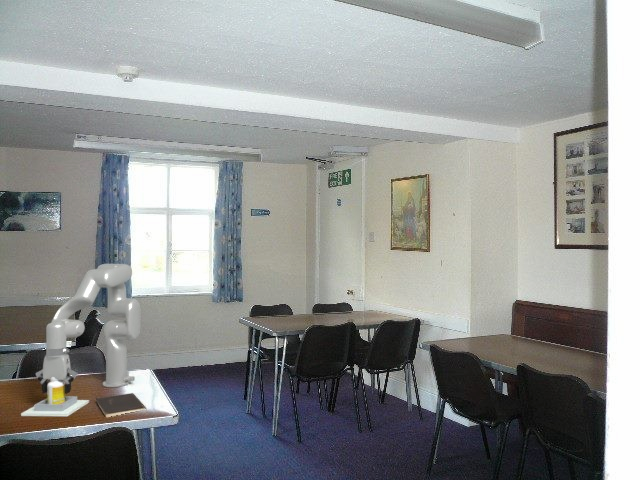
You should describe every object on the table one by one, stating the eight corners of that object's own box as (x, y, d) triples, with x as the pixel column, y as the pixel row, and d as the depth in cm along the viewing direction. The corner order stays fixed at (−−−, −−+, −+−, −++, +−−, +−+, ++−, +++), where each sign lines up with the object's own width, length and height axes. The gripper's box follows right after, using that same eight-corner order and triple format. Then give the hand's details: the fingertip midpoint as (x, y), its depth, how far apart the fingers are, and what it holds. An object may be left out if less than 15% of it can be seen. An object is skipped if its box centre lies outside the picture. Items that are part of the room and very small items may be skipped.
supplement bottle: (68, 404, 218) (68, 374, 218) (56, 409, 211) (56, 378, 211) (56, 403, 220) (56, 373, 220) (43, 407, 213) (43, 377, 213)
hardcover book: (105, 419, 204) (105, 413, 204) (96, 403, 224) (96, 398, 224) (146, 412, 213) (146, 406, 213) (134, 397, 232) (134, 392, 232)
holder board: (88, 402, 224) (88, 394, 224) (67, 416, 206) (67, 407, 206) (46, 401, 225) (46, 394, 225) (21, 415, 207) (21, 407, 207)
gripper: (81, 350, 219) (81, 390, 219) (41, 350, 219) (41, 389, 219) (71, 354, 211) (71, 395, 211) (31, 353, 212) (30, 395, 212)
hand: (56, 392), depth 215 cm, fingers open, 9 cm apart
